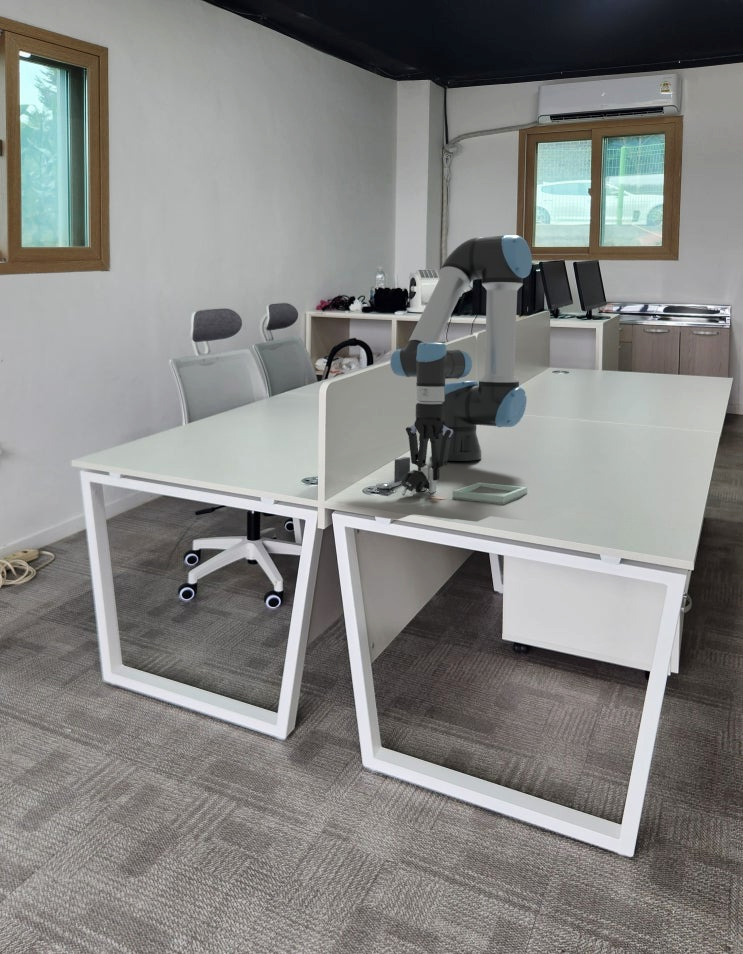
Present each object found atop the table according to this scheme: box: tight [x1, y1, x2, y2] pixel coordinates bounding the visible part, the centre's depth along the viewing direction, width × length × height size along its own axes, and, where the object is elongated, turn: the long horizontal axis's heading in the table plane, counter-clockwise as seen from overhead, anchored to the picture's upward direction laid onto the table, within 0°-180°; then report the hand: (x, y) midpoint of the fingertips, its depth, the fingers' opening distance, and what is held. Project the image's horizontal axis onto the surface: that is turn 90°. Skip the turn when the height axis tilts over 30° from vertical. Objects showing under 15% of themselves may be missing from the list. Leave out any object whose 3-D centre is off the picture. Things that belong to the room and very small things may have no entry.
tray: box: [452, 482, 528, 505], centre depth 224 cm, size 16×14×2 cm
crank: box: [375, 456, 411, 489], centre depth 232 cm, size 15×4×7 cm, turn 149°
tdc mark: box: [429, 496, 446, 501], centre depth 220 cm, size 1×4×1 cm, turn 59°
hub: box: [374, 488, 395, 496], centre depth 228 cm, size 7×7×1 cm
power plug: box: [400, 469, 429, 498], centre depth 223 cm, size 6×8×12 cm
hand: (428, 491), depth 228 cm, fingers closed on power plug, 2 cm apart
